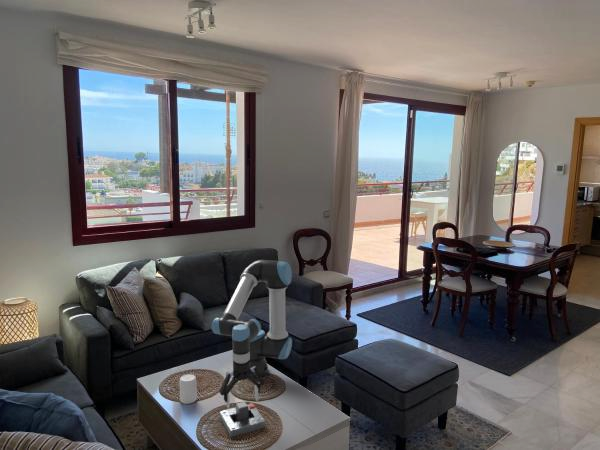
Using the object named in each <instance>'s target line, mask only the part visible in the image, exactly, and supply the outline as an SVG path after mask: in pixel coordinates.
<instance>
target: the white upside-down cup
mask: <svg viewBox="0 0 600 450" xmlns="http://www.w3.org/2000/svg"><path fill="white" fill-rule="evenodd" d="M178 386H179V402H180V403H181V404H185V405H189V404H192V403H194V402H196V401H197V400H198V395H197V394H198V390H197V386H198V385H197V377H196V375H194V374H192V373H187V374H184V375H181V376H180V378H179V384H178Z"/></svg>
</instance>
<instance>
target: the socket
mask: <svg viewBox="0 0 600 450" xmlns="http://www.w3.org/2000/svg"><path fill="white" fill-rule="evenodd" d="M246 404H247V403H246ZM247 405H248V407H249V419H246V420H243V421H239V422H237V421H236V406H235V407H232V408H231V407H230V409H228V408H227V409H224V410H220V411H219V418H220V420H221V422H222V424H223V426H224V427H225V430H226V431H227V433H228V434H229V436H230V438H232V437H236V436H239V435H243V434H246V433H249V432H254V431H256V430H260V429H263V428H266V420H265V419H264V417H263V416H262V414H261V413H260V412H259V410H258V408H257V407H256V406H255V404H254V403H253V402H251V403H248V404H247Z"/></svg>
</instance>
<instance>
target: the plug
mask: <svg viewBox="0 0 600 450" xmlns="http://www.w3.org/2000/svg"><path fill="white" fill-rule="evenodd" d="M235 407H236V421H237V422H239V421H243V420H246V419H249V407H248V405H247V402H246V401H241V402H236V404H235Z"/></svg>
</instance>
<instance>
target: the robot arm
mask: <svg viewBox="0 0 600 450" xmlns="http://www.w3.org/2000/svg"><path fill="white" fill-rule="evenodd" d="M292 271H293V270H292V267H291V264H290V263H288V262H286V261H282V260H268V259H258V260H255V261H253V262H251V263H250V264H249V265H248V266H247V267H245V268H244V270H243V271H242V273H241V275H240V276H239V282H238V284H237V287H236V288H235V290H234V293H233V294H232V296H231V297H230V298H231V299H230V300H229V302H228V304H227V305H226V308H225V310H224V311H223V314H222V315H221V317H215V318H214V319H213V321H212V323H211V331H212V332H213V333H214V334H216V335H220V336H226V337H231V339H232V340H231V341H232V369H233V370H232V372H229V371H226V372H225V378H224V380H223V383H222V385H221V387H220V388H219V394H220V396H223V401H224V403H225V406H226V408H227V409H231V406H230V392H231V391H232V390H233V387H234V386H235V385H236V384H238V381H244V380H247V379H248V380H249V381H251V382H252V383H253V384H254V400H255V401H256V402H258V401H259V394H260V393H261V388H262V386H264V385H265V383H264V381H263V379H262V377H264V376H266V375H268V372H269V367H268V363H267V360H266V358H271V359H278V360H286V359H288V357H289V356H290V354H291V350H292V346H293V339H292V337H289V333H288V331H287V330H286V289H287V288H288V287H289V285H290V284H291V283H292V279H293V272H292ZM258 283H265V286H266V289H268V299H269V300H268V302H269V303H268V304H269V305H268V307H269V308H268V310H269V331H268V332H267V333H266V332H265V330H264V329H262V325H261V323H260V322H259V320H258V319H255V318H251V319H249V320H247V321H245V320H238V319H239V317H240V316H241V313H242V311H243V309H244V307H245V305H246V303H247V301H248V299H249V297H250V295H251V293H252V291H253V289H254V287H256V286H257V285H258ZM256 379H257V380H258V381H257V380H256Z"/></svg>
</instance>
